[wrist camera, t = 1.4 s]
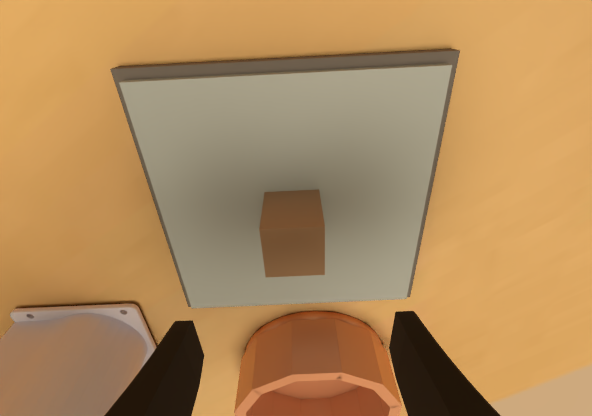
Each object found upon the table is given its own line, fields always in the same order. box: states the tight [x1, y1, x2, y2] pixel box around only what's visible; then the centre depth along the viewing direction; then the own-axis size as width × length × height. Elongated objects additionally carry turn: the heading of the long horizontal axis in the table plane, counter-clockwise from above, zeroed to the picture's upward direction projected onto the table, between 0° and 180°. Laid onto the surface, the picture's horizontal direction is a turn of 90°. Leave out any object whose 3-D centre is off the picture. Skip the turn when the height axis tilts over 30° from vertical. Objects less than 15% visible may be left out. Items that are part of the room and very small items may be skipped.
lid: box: [119, 63, 452, 308], centre depth 17 cm, size 15×15×4 cm
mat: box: [111, 49, 460, 307], centre depth 19 cm, size 16×16×1 cm
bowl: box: [234, 311, 402, 416], centre depth 26 cm, size 12×12×5 cm
